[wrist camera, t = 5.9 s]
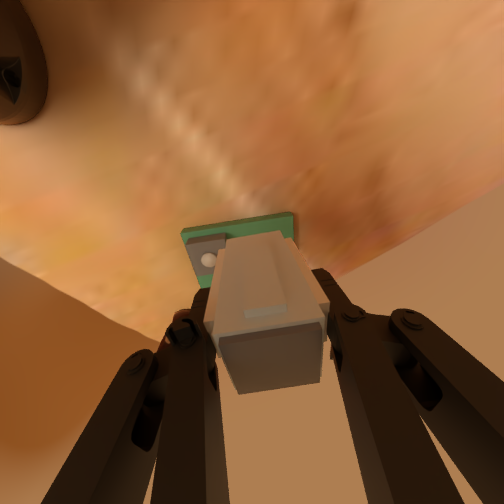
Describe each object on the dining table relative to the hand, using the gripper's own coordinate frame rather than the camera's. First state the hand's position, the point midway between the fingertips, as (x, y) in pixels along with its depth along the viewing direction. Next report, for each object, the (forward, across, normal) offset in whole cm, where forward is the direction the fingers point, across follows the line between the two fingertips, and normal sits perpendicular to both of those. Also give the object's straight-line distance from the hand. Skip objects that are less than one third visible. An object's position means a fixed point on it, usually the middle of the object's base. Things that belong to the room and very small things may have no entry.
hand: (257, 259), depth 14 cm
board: (+17, -2, -10) cm, 20 cm away
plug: (0, 0, 0) cm, 0 cm away
